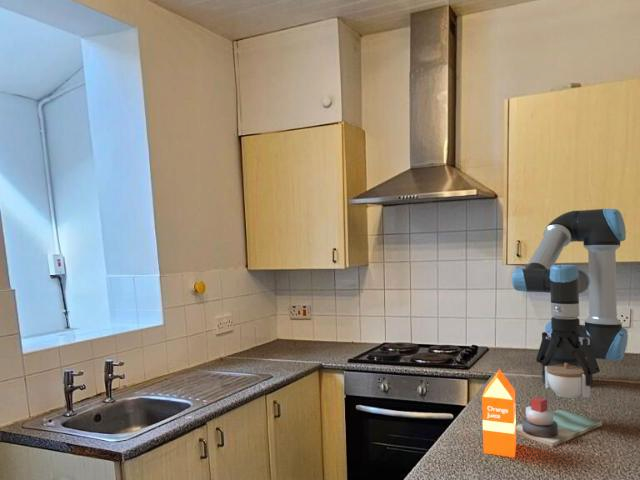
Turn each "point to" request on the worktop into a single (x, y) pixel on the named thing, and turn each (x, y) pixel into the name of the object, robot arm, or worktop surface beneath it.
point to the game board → (558, 428)
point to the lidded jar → (565, 380)
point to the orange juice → (499, 417)
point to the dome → (539, 412)
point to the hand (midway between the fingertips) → (567, 391)
